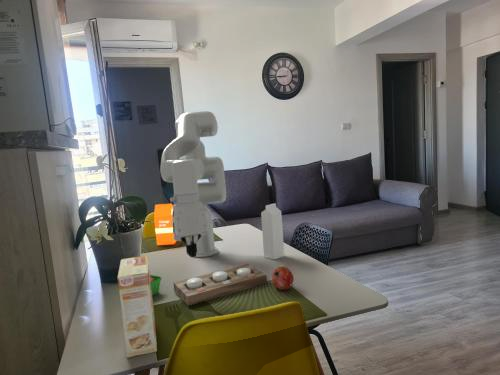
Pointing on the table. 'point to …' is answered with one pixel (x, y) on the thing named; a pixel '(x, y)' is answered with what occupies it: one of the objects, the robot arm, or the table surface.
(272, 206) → the milk
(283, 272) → the pomegranate
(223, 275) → the button middle
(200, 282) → the button end
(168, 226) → the orange juice
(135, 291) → the coffeecake box
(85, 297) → the table surface
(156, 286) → the fruit basket
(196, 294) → the button board
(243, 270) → the button end
